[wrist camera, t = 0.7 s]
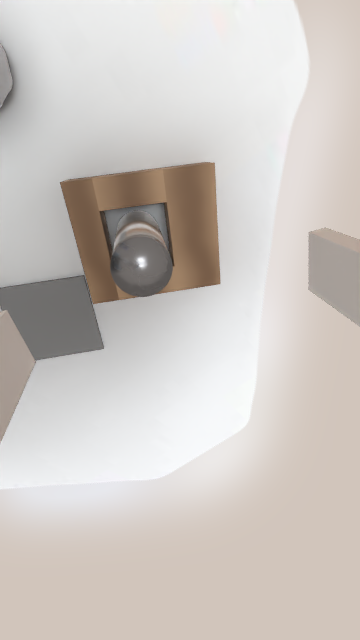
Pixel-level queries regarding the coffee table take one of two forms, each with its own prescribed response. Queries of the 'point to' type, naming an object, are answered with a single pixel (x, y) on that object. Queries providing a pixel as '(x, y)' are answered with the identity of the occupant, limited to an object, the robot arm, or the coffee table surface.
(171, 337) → the coffee table surface
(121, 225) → the shiny metal cylinder
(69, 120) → the coffee table surface
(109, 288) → the housing
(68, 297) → the mat
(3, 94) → the bottle
